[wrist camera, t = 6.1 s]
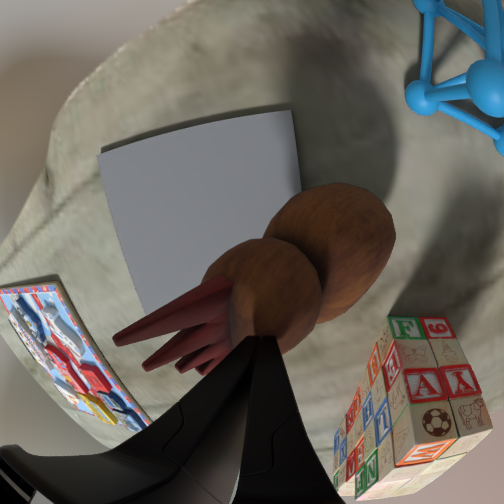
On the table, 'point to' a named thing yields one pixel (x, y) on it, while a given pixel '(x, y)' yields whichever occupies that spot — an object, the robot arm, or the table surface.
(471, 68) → the molecular structure
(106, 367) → the puzzle board
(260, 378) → the robot arm
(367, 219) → the wooden figurine
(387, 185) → the table surface
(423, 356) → the stack of blocks
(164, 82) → the table surface
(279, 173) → the felt mat
